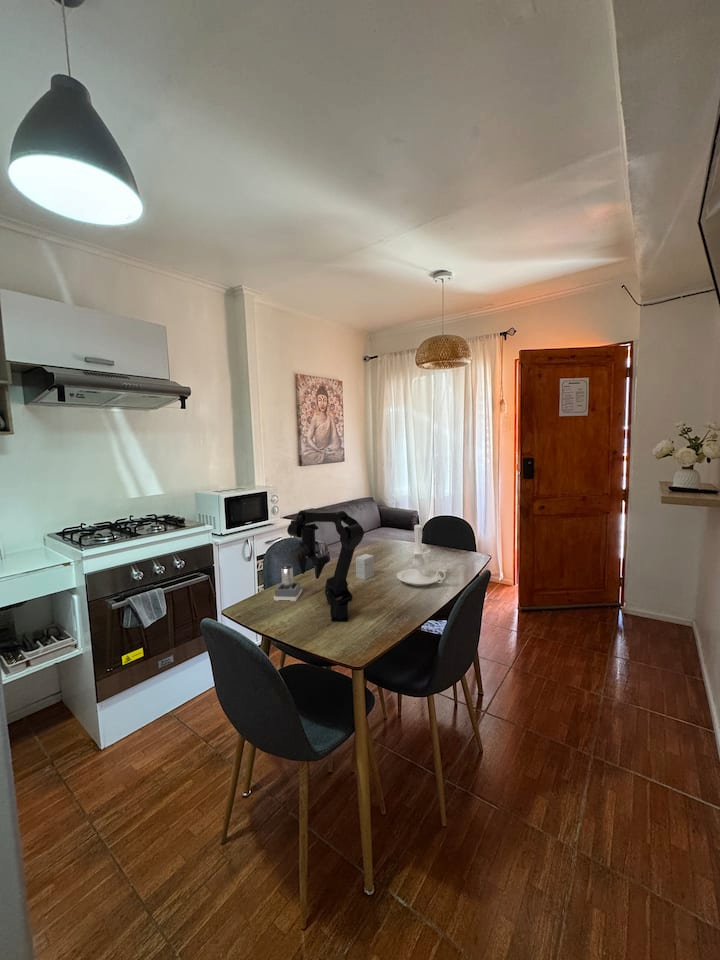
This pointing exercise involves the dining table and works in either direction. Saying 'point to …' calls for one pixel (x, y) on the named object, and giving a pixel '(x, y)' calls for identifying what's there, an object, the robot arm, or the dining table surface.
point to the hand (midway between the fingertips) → (310, 576)
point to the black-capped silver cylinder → (287, 576)
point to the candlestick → (419, 565)
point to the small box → (364, 566)
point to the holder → (288, 592)
